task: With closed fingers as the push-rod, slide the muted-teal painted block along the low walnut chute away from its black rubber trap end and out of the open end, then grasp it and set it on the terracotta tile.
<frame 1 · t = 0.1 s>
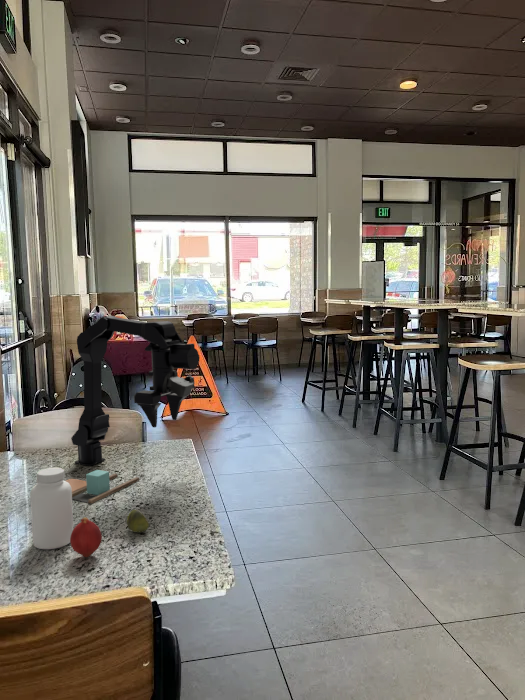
hand: (164, 423, 154), 15 cm above the table, fingers open, 9 cm apart
lime: (138, 533, 119), on the table
chute: (103, 489, 145), on the table
pill bottle: (53, 542, 115), on the table
block: (98, 491, 144), on the table
tile: (71, 488, 147), on the table
onion: (87, 557, 109), on the table
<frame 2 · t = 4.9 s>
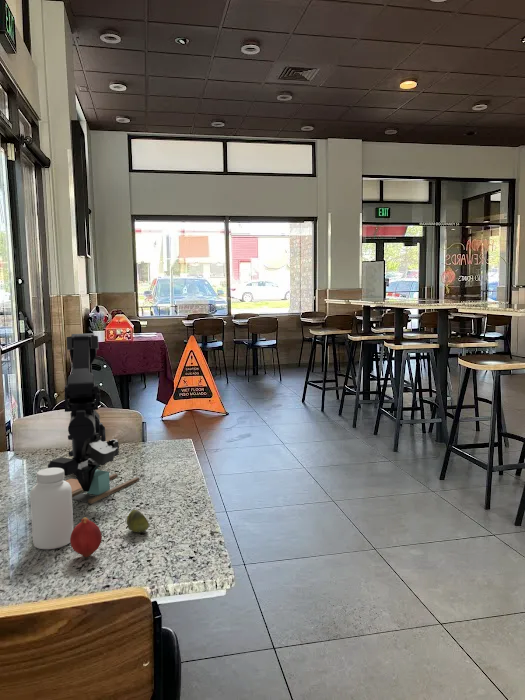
hand: (86, 491, 140), 1 cm above the table, fingers closed
block: (98, 491, 144), on the table, touching gripper
everything else where it was.
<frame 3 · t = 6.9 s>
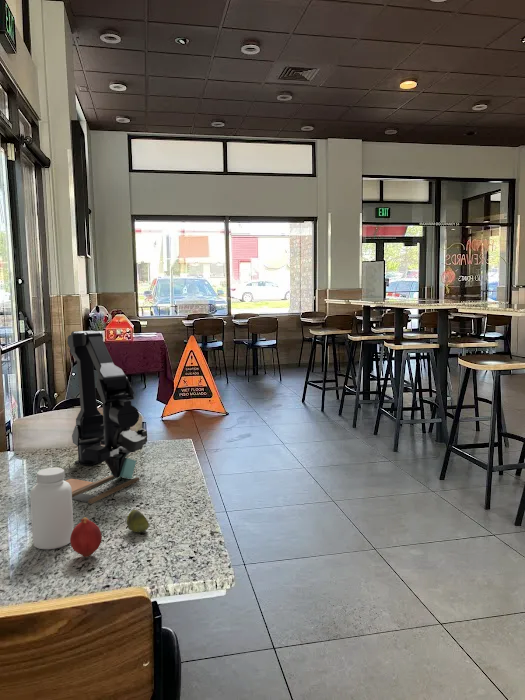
hand: (116, 477, 150), 1 cm above the table, fingers closed
block: (121, 476, 152), point 1 cm above the table, tilted 27°, touching gripper
everything else where it was.
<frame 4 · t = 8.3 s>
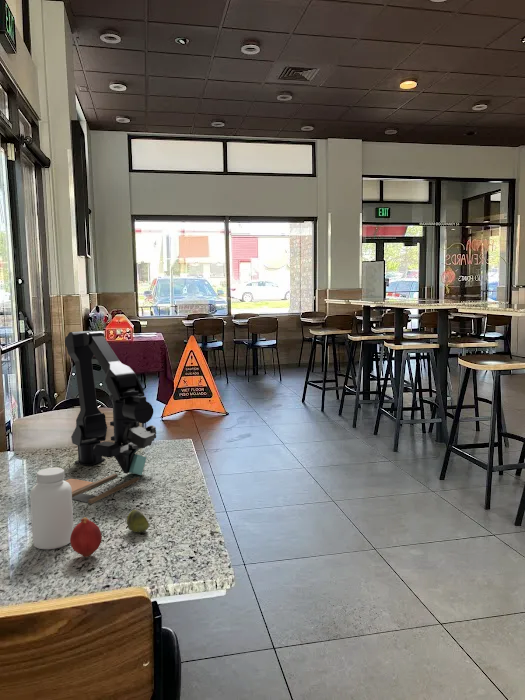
hand: (126, 473, 153), 2 cm above the table, fingers closed
block: (131, 472, 155), point 1 cm above the table, tilted 27°, touching gripper
everything else where it was.
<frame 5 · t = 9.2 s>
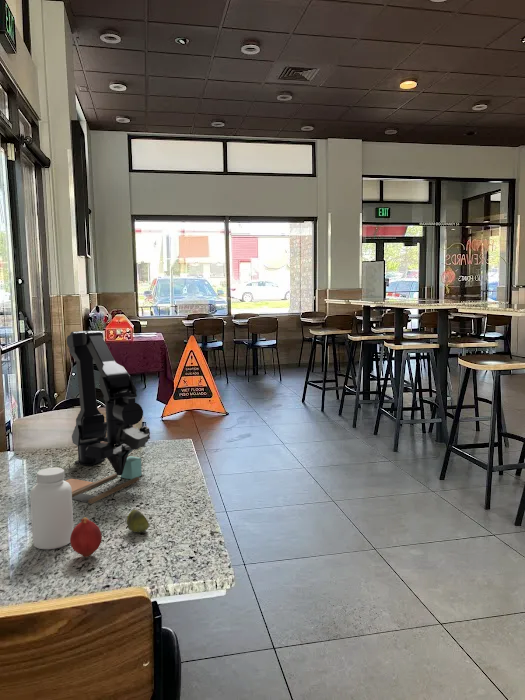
hand: (119, 474, 151), 2 cm above the table, fingers closed
block: (131, 476, 155), on the table
everything else where it was.
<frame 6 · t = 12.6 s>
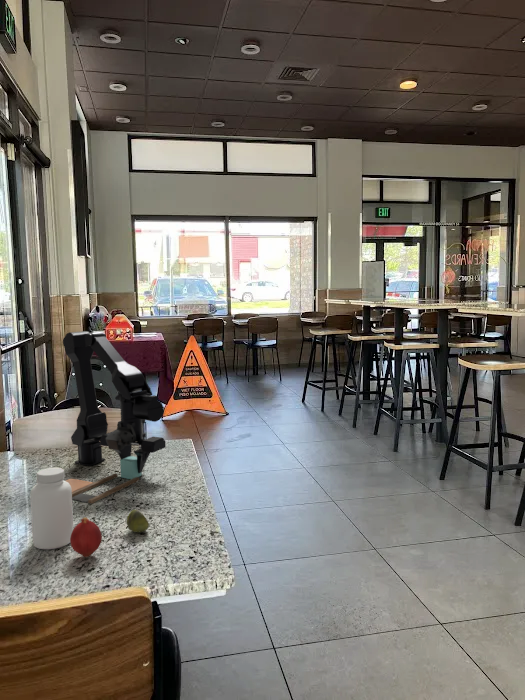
hand: (133, 471, 156), 1 cm above the table, fingers closed on block, 4 cm apart
block: (131, 476, 155), on the table, touching gripper
everything else where it was.
when the fingers open (2 cm above the table, at t = 16.9 s): block stays where it is, resting on tile.
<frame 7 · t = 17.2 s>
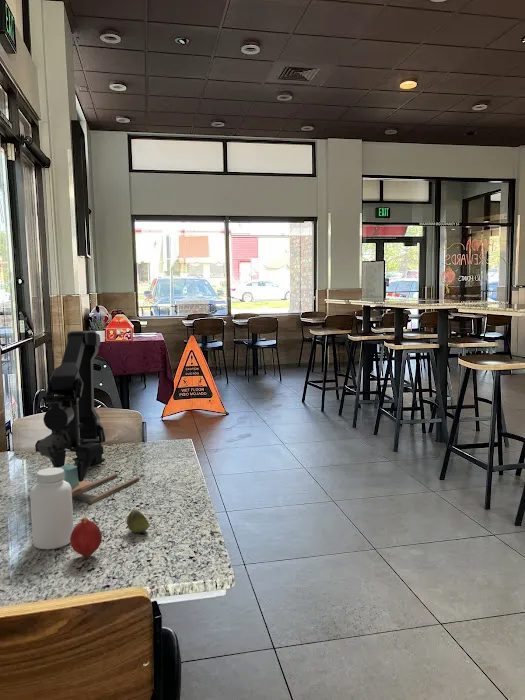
hand: (70, 479, 146), 2 cm above the table, fingers open, 7 cm apart
block: (67, 486, 146), point 1 cm above the table, touching tile
everything else where it was.
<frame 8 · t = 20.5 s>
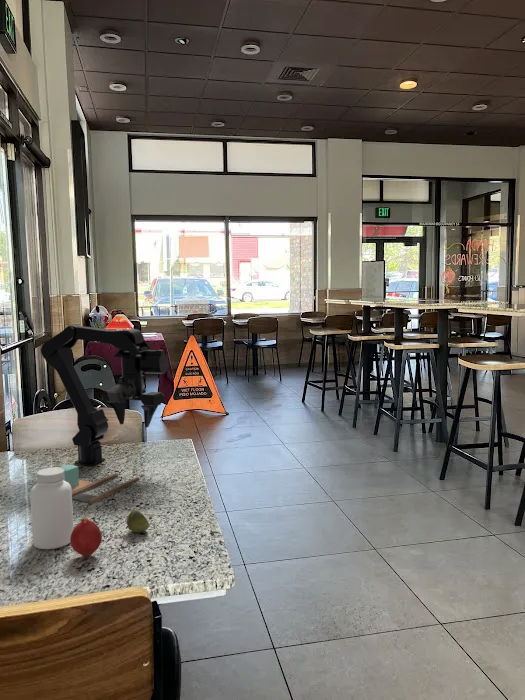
hand: (134, 425, 163), 12 cm above the table, fingers open, 9 cm apart
nothing on the table moved.
at the end: block inside the target area on the tile (1.0 cm from its centre), point 0.8 cm above the tile's base; the gripper is holding nothing; block tilted 0° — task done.
